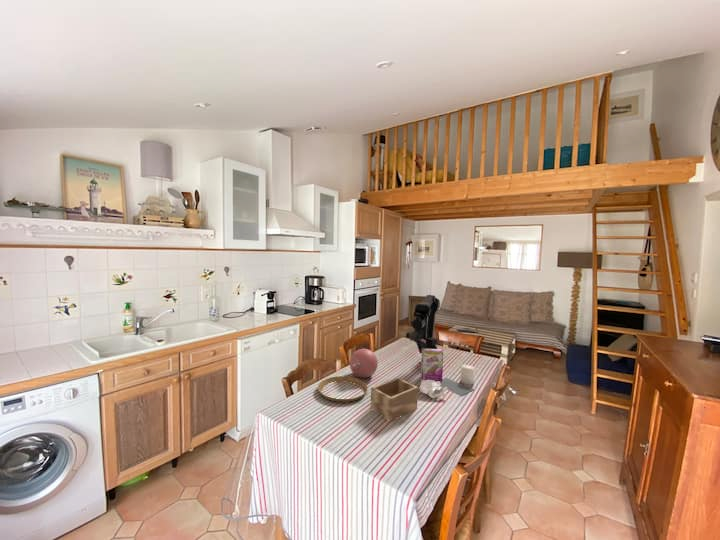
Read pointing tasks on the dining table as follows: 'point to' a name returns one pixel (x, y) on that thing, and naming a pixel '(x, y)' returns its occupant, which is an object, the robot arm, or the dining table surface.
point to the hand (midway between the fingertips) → (420, 353)
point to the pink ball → (363, 363)
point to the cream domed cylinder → (467, 374)
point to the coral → (432, 389)
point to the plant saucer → (342, 378)
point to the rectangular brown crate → (394, 398)
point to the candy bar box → (432, 364)
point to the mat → (455, 387)
